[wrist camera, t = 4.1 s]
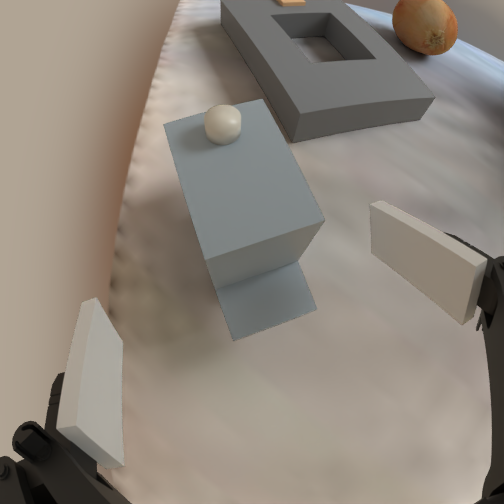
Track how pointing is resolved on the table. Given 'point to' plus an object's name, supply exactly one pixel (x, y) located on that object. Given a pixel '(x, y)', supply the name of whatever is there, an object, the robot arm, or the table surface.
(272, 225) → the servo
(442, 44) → the onion
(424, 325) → the table surface
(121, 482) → the table surface
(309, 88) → the pocket block
